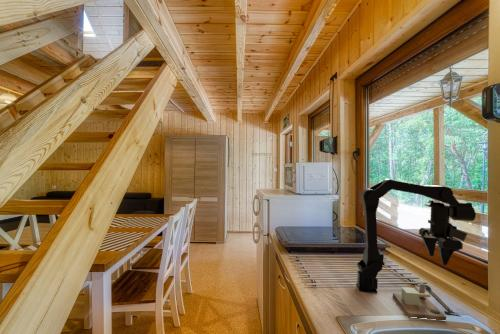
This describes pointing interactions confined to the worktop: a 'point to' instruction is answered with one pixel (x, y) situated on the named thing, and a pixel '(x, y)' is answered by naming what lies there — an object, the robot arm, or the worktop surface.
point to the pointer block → (412, 296)
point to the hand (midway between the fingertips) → (437, 260)
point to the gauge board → (420, 307)
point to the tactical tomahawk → (441, 302)
